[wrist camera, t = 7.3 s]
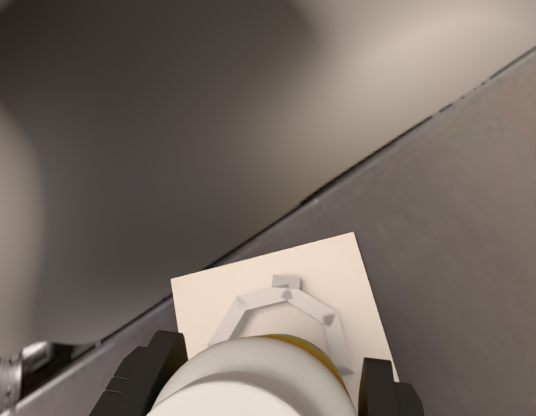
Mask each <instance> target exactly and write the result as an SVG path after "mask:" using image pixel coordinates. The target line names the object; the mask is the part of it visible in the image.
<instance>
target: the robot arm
mask: <svg viewBox="0 0 536 416" xmlns="http://www.w3.org/2000/svg"><path fill="white" fill-rule="evenodd" d="M187 361H188V355H187V349H186V343H185V338H184V335H183V333H177V332H169V331H161V330H159V331H157V332H156V333H155V335H154V336H153V338H152V340H151V341H150V343H149V345H148V347H141V346H138V347H137V348H136V349H135V350H133V351H132V352H131V353H130V354H129V355H128V356H127V357H125V358H124V359H123V361H122V363H121V364H120V366H119V367H118V369H117V371H116V372H115V374H114V377H113V378H112V379H111V381H110V382H109V384H108V385H107V387H106V391H105V392H103V394H102V395H101V397H100V399H99V400H98V402H97V403H96V405H95V407H94V408H93V410H92V412H91V413H90V415H89V416H146V415H147V414H148V413H149V412H150V411H151V409H152V407H153V405H154V403H155V401H156V399H157V397H158V396H159V394H160V392H161V390H162V389H163V388H164V386H165V385H166V383H167V382H168V381H169V379H170V378H171V377H172V376H173V375H174V374H175V373H176V371H177V370H178V369H179V368H180V367H181V366H182V365H184V364H185V363H186V362H187ZM358 416H424V410H423V405H422V402H421V400H420V398H419V397H418V395H417V393H416V392H415V390H414V388H413V387H412V385H411V384H408V383H401V382H394V376H393V367H392V362H391V360H384V359H376V358H369V357H364V359H363V366H362V373H361V380H360V387H359V395H358Z"/></svg>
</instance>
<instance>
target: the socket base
mask: <svg viewBox="0 0 536 416" xmlns="http://www.w3.org/2000/svg"><path fill="white" fill-rule="evenodd" d="M171 284H172V291H173V297H174V304H175V311H176V317H177V324H178V331H179V333H183V335H184V338H185V343H186V349H187V355H188V360H190V359H191V358H192V357H194V356H195V355H196V354H198V353H199V352H201V351H203V350H205V349H206V348H208V347H210V346H212V345H214V344H217V343H219V342H223V341H226V340H230V339H236V338H241V337H249V336H258V335H266V334H288V335H293V336H297V337H300V338H302V339H305V340H307V341H309V342H310V343H312V344H314V345H315V346H317V347H318V348H319V349H321V350H322V351H323V352H324V353H325V354H326V355H327V356H328V357H329V359H330V360H331V361H332V362H333V364H334V365H335V367H336V368H337V370H338V371H339V373H340V375H341V377H342V379H343V381H344V384H345V386H346V389H347V391H348V393H349V396H350V398H351V400H352V403H353V405H354V407H355V410H356V412H357V414H358V395H359V387H360V380H361V373H362V366H363V359H364V357H369V358H376V359H384V360H391V362H392V367H393V376H394V382H399V379H398V376H397V372H396V369H395V366H394V362H393V359H392V356H391V353H390V349H389V346H388V343H387V340H386V336H385V333H384V330H383V327H382V323H381V320H380V317H379V314H378V310H377V307H376V304H375V301H374V297H373V294H372V291H371V288H370V284H369V281H368V278H367V275H366V271H365V268H364V265H363V262H362V258H361V255H360V252H359V249H358V245H357V242H356V239H355V236H354V232H351V233H347V234H343V235H340V236H336V237H332V238H328V239H324V240H320V241H316V242H312V243H309V244H305V245H301V246H297V247H293V248H289V249H285V250H282V251H278V252H274V253H270V254H266V255H262V256H258V257H255V258H251V259H247V260H243V261H239V262H235V263H231V264H228V265H224V266H220V267H216V268H212V269H208V270H204V271H200V272H197V273H193V274H189V275H185V276H181V277H177V278H173V279H171Z"/></svg>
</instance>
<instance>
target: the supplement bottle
mask: <svg viewBox="0 0 536 416" xmlns="http://www.w3.org/2000/svg"><path fill="white" fill-rule="evenodd" d="M146 416H358V414H357V412H356V410H355V407H354V405H353V403H352V400H351V398H350V396H349V393H348V391H347V389H346V386H345V384H344V381H343V379H342V377H341V375H340V373H339V371H338V370H337V368H336V367H335V365H334V364H333V362H332V361H331V360H330V359H329V357H328V356H327V355H326V354H325V353H324V352H323V351H322V350H321V349H319V348H318V347H317V346H315V345H314V344H312V343H310V342H309V341H307V340H305V339H302V338H300V337H297V336H293V335H288V334H266V335H258V336H249V337H241V338H236V339H230V340H226V341H223V342H219V343H217V344H214V345H212V346H210V347H208V348H206V349H205V350H203V351H201V352H199V353H198V354H196V355H195V356H194V357H192V358H191V359H190V360H188V361H187V362H186V363H185V364H184V365H182V366H181V367H180V368H179V369H178V370H177V371H176V373H175V374H174V375H173V376H172V377H171V378H170V379H169V381H168V382H167V383H166V385H165V386H164V388H163V389H162V390H161V392H160V394H159V396H158V397H157V399H156V401H155V403H154V405H153V407H152V409H151V411H150V412H149V413H148V414H147V415H146Z"/></svg>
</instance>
